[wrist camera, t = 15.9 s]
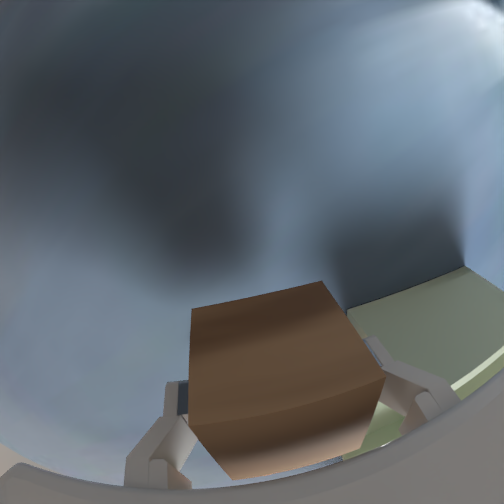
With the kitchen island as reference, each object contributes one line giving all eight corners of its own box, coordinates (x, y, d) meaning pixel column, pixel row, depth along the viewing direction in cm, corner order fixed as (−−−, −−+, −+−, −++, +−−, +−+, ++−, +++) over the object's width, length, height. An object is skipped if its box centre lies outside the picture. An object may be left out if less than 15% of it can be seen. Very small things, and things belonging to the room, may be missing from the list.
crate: (347, 309, 17) (417, 405, 9) (464, 265, 18) (535, 315, 10) (335, 442, 25) (359, 499, 17) (420, 404, 26) (451, 449, 18)
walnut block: (191, 308, 10) (187, 426, 5) (321, 280, 10) (386, 376, 6) (221, 388, 12) (232, 480, 8) (321, 365, 12) (359, 448, 8)
